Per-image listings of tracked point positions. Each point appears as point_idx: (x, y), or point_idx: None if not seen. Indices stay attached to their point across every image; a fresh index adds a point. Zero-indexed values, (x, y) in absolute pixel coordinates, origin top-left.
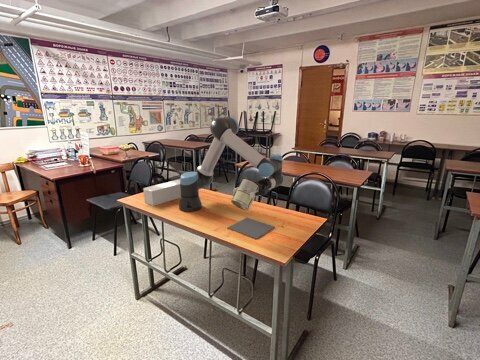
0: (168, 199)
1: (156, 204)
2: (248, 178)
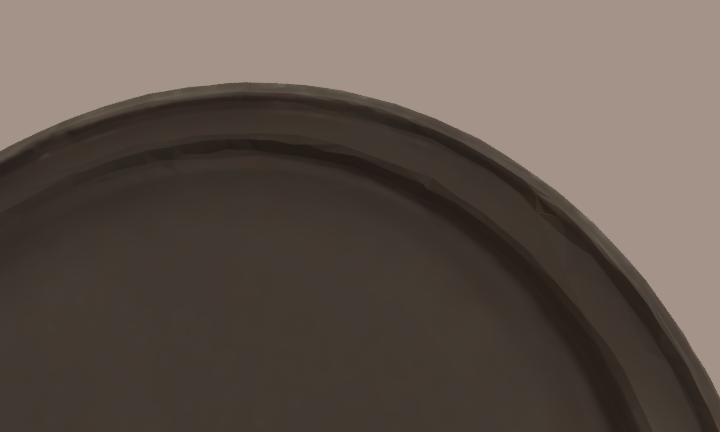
0: None
1: None
2: (218, 96)
